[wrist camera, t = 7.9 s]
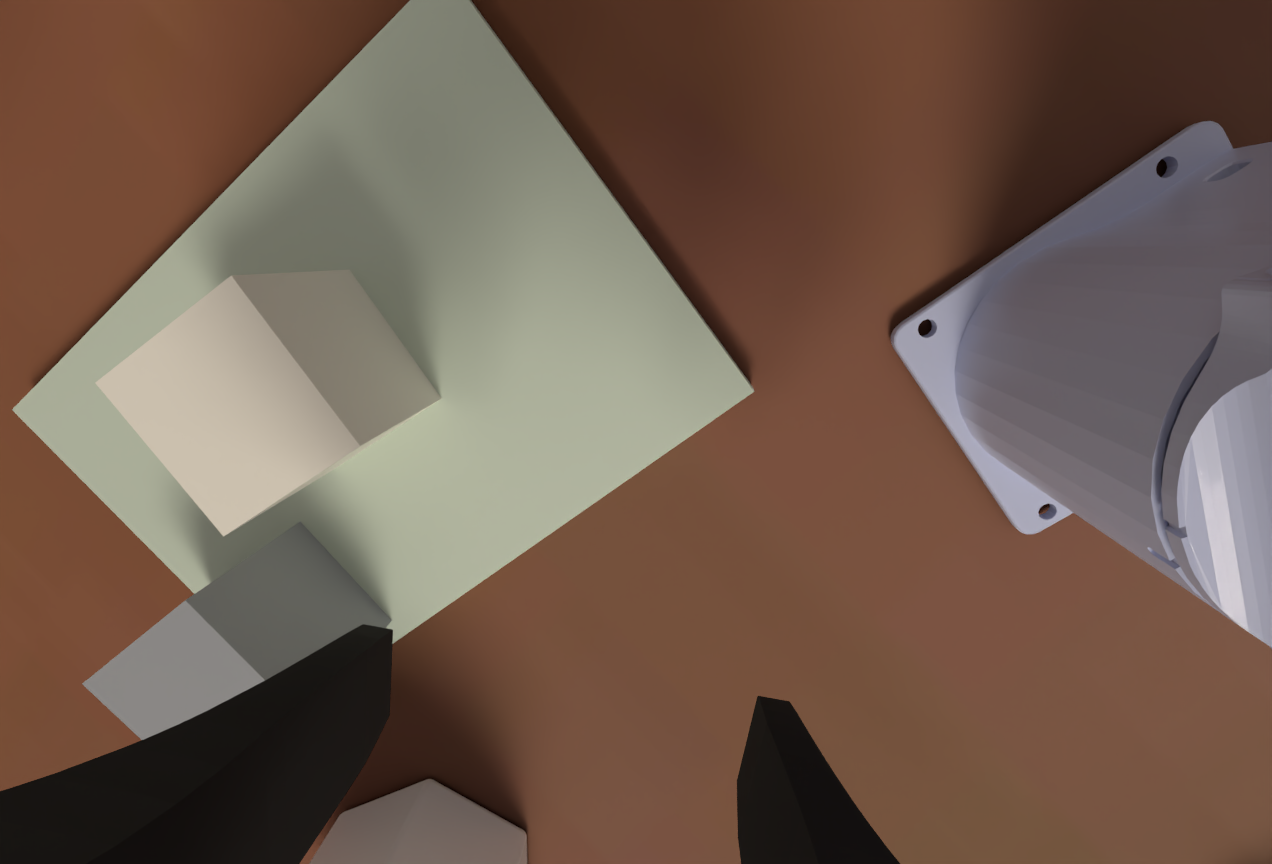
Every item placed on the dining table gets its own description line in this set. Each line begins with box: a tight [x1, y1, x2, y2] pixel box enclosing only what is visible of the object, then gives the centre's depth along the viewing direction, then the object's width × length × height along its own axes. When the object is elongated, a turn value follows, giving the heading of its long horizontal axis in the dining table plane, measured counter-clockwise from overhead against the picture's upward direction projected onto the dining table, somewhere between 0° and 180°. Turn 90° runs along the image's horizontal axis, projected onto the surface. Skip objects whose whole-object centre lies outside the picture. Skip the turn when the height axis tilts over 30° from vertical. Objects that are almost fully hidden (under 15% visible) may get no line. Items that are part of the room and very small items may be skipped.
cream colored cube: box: [95, 270, 442, 537], centre depth 17 cm, size 5×5×5 cm
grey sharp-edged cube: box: [83, 522, 392, 740], centre depth 20 cm, size 5×5×5 cm
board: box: [12, 0, 754, 644], centre depth 19 cm, size 20×14×4 cm
